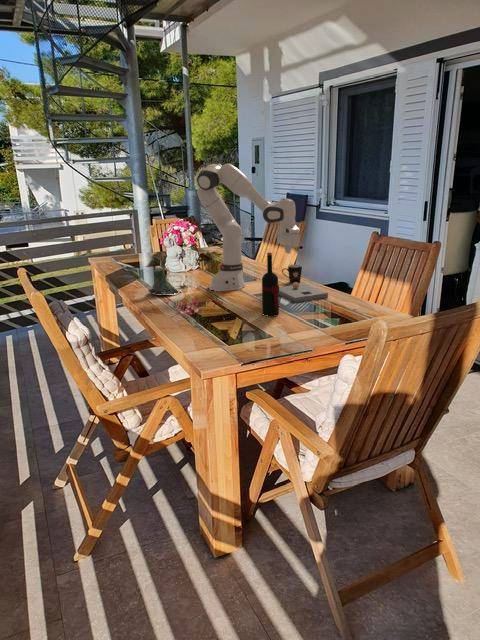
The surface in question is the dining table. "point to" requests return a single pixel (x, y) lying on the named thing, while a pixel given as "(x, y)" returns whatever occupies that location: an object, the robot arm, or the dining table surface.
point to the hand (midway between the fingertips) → (287, 253)
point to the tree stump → (161, 283)
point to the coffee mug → (294, 273)
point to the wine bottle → (270, 290)
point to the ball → (295, 285)
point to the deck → (302, 293)
